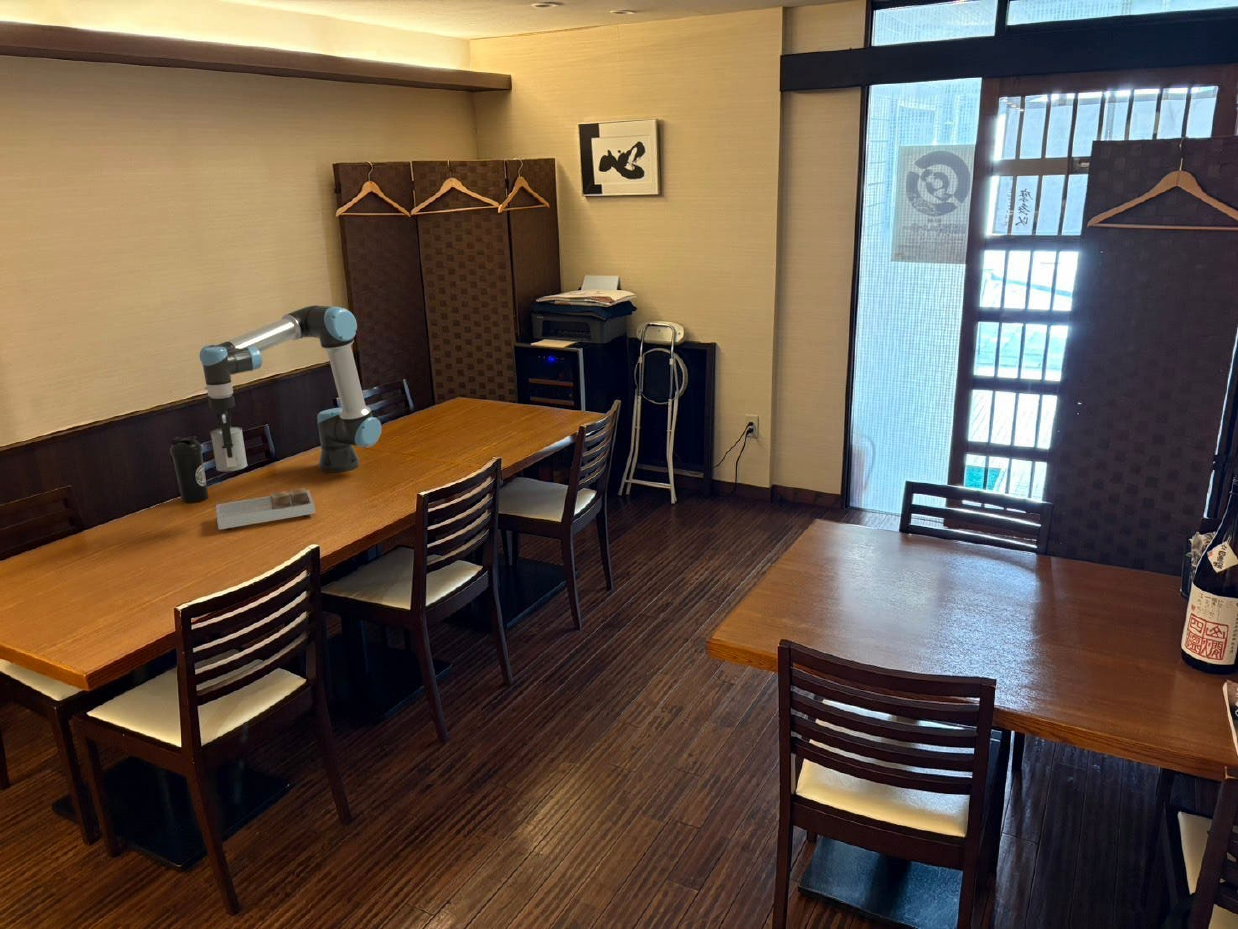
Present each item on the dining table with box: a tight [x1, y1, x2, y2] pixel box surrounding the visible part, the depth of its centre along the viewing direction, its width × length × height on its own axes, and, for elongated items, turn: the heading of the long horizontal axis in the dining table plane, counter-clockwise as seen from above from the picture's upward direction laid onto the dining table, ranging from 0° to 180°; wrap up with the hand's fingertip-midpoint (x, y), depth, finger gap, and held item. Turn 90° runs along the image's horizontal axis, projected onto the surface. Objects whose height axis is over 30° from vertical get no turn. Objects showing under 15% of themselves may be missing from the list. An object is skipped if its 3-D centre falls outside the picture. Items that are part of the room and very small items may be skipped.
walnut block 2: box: [289, 488, 308, 506], centre depth 305 cm, size 5×5×5 cm
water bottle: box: [169, 435, 209, 505], centre depth 318 cm, size 10×10×23 cm
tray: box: [215, 489, 316, 531], centre depth 302 cm, size 30×15×5 cm, turn 114°
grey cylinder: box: [210, 426, 248, 472], centre depth 294 cm, size 10×10×12 cm
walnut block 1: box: [269, 490, 291, 509], centre depth 303 cm, size 5×5×5 cm
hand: (231, 462), depth 295 cm, fingers closed on grey cylinder, 9 cm apart
